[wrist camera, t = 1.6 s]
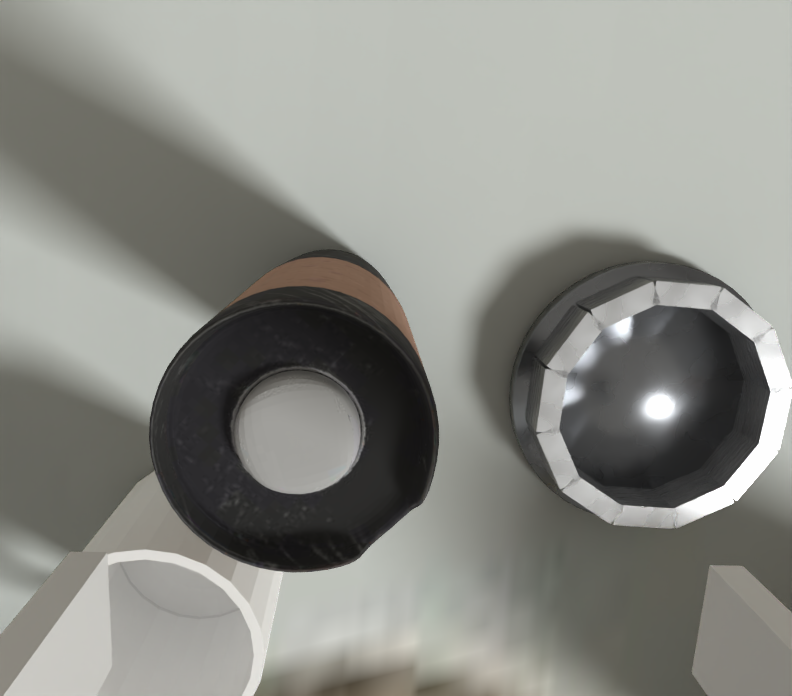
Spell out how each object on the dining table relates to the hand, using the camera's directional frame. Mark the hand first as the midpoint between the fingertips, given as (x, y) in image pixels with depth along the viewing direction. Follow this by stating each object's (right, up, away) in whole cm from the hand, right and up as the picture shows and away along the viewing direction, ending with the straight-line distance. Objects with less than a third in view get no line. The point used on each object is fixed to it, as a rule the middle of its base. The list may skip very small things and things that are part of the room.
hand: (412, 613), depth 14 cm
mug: (-12, -6, +25) cm, 28 cm away
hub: (+14, +3, +24) cm, 28 cm away
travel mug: (-4, +8, +22) cm, 24 cm away
